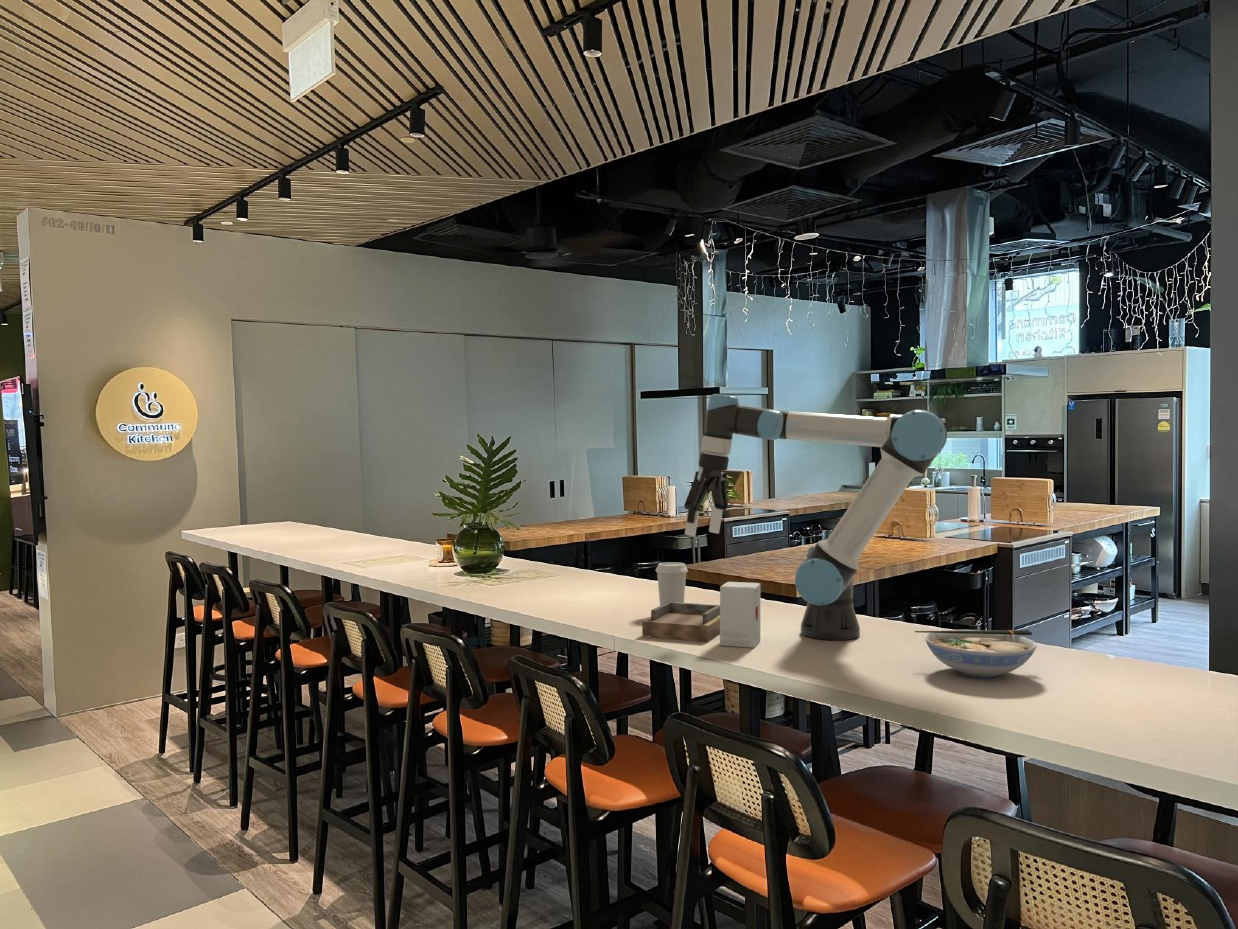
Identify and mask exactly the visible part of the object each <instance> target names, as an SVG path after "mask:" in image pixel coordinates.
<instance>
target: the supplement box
mask: <svg viewBox="0 0 1238 929" xmlns="http://www.w3.org/2000/svg"><path fill="white" fill-rule="evenodd" d="M719 605H720V634H719V646H724V647H735V648H736V647H738V648H752V649H754V648H756V646H758V645H759V643H760V642H761V583H759V582H745V581H744V582H743V581H741V582H740V581H739V582H738V581H727V582H725V583H723V585H721V586H720V588H719Z"/></svg>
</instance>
